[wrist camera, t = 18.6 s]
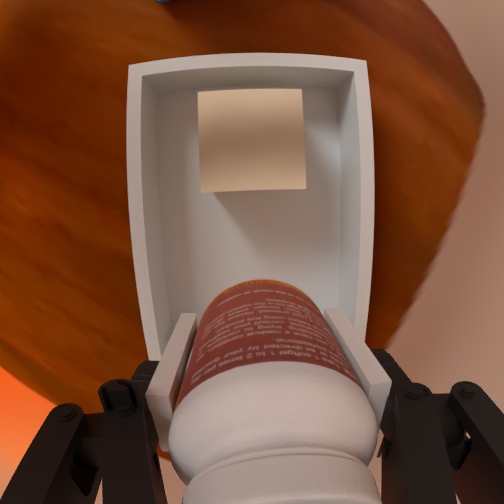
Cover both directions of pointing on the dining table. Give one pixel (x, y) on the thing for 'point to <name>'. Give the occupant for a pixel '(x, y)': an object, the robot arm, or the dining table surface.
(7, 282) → the dining table surface
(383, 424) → the robot arm
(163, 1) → the flower pot
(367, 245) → the tote
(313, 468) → the pill bottle
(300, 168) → the beech cube
